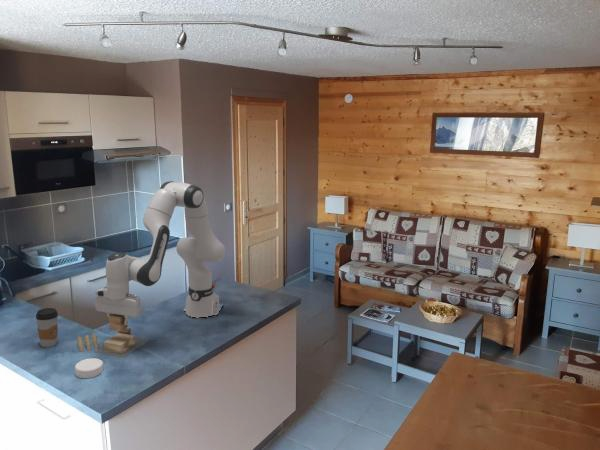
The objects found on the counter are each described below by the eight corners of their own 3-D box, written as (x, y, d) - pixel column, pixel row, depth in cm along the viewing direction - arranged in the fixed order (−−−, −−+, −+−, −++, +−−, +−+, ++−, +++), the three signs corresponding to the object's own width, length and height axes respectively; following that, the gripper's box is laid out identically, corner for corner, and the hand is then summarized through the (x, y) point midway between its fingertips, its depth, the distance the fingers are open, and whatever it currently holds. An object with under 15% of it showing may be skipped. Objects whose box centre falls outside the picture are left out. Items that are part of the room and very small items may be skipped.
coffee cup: (48, 350, 203) (46, 316, 200) (33, 346, 206) (30, 312, 203) (64, 342, 211) (62, 309, 208) (49, 338, 213) (47, 306, 210)
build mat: (121, 336, 219) (121, 334, 219) (148, 341, 216) (148, 339, 215) (94, 353, 202) (94, 352, 202) (123, 359, 199) (123, 357, 198)
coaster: (89, 381, 182) (88, 372, 181) (69, 375, 185) (68, 366, 185) (109, 369, 191) (108, 361, 190) (89, 363, 194) (89, 355, 194)
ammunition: (77, 335, 207) (79, 343, 200) (95, 332, 211) (98, 340, 204) (77, 346, 208) (79, 354, 201) (96, 343, 212) (98, 350, 205)
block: (122, 336, 218) (121, 327, 217) (130, 336, 218) (130, 328, 217) (118, 340, 214) (118, 331, 213) (127, 340, 214) (127, 332, 213)
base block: (118, 341, 213) (118, 332, 212) (134, 344, 211) (134, 335, 210) (103, 351, 203) (103, 342, 202) (120, 354, 201) (120, 345, 200)
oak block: (117, 325, 208) (117, 311, 207) (127, 326, 207) (127, 313, 205) (109, 329, 203) (109, 316, 202) (120, 331, 202) (119, 317, 201)
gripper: (144, 293, 202) (144, 324, 205) (102, 286, 207) (103, 317, 210) (135, 298, 196) (135, 330, 199) (92, 291, 201) (93, 322, 204)
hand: (118, 323), depth 204 cm, fingers closed on oak block, 5 cm apart
